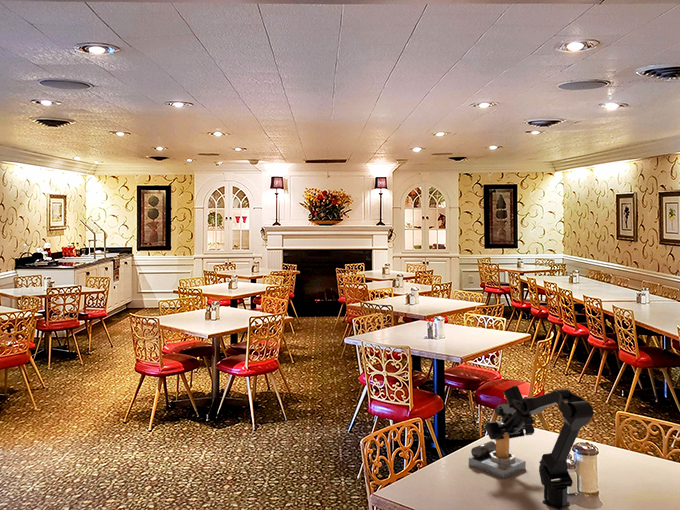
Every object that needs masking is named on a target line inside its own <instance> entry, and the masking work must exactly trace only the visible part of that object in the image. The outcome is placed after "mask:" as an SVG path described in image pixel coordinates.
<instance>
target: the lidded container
mask: <svg viewBox="0 0 680 510" xmlns="http://www.w3.org/2000/svg"><path fill="white" fill-rule="evenodd" d="M496 422H497V423H498V425H499V427H502V424H504V423H502V420H498V421H496ZM503 437H504V439H500V440H495V444H496V457H498V458H504V459H508V458H509V452H510V439H509V434H508V433H505V434H504V435H503Z"/></svg>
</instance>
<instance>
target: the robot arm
mask: <svg viewBox="0 0 680 510" xmlns="http://www.w3.org/2000/svg"><path fill="white" fill-rule="evenodd" d="M502 393H503V395H504V398H505V400H506V402H507V403H504V404H499V405H497V406H496V407H495V408H494V413H495V415H496V416H498V417H499V416H500V417H501V421H502V423H504V424H502V427H499V425H498V423H497V422H498V421H495V420H494V421H487V422H486V423H485V425H484V427H485V430H486V432H487V435H488V438H489V439H490V440H491V441H492V440H494V441H496V440H500V439H504V437H503V435H504V434H505V433H508V434H509V440H510V439H515V438H522V437H525V436H532V435H534V433H535V427H534V424H535V421H534V417H533V415H537V414H538V415H539V414H541V413H543V411H545V409H546V408H548V407H551V406H554V405H557V409H558V410H559V411H560V413H562V415H561V416H562V418H563V425H562V427H561V429H560V431H559V433H558V436H557V438H556V441H555V444H554V446H553V448H552V451H551V452H549V453H543V455H541V459H540V461H539V462H538V463H539V467H538V471H539V477H540V483H541V485H542V486H543V499H544V500H542V503H543V504H544V505H547V506H550V507H552V508H555V509H557V510H562V509H564V508H566V507H568V506H569V505H570V501H568V492H569V491H568V490H569V489H568V487H569V488H570V487H572V486H573V483H574V481H573V479H572V477H571V475H570V472H569V465H568V462H567V459H568V457H569V455H570V452H571V450H572V448H573V445H574V444H575V442H576V438H577V436H578V435H579V432H580V430H581V429H582V428H584V427H585V426H586V425H588V424H589V423H590V421H591V420H592V419H593V418H594V417H593V416H594V413H595V412H594V408H593V406H592V405H591V403H589V402H588V401H586V399H584V398H583V397H581V396H579V395H577V394H575V393H573V392H571V390H569V389H567V388H559V389H554V390H553V391H550V392H548V393H545V394H542V395H539V396H533V397H523V395H522V393H521V391H520V387H519V386H518V385H513V386H512V387H510V388H507V389H504V391H503V392H502Z"/></svg>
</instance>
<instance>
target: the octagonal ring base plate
mask: <svg viewBox="0 0 680 510" xmlns="http://www.w3.org/2000/svg"><path fill="white" fill-rule="evenodd" d="M470 451H471V456H469V457H468V466H470V467H473V468H476V469H477V470H480V471H483V472H486V473H488V474H491V475H493V476H495V477H499V478H500V479H508V478H510V477H511V476H513V475H517V474H518V473H519V472H522V471H523V470H524V471H525V470H526V467H527V466H526V465H527V461H526V460H524V459H521V458H518V457H516V456H515V454H514V453H512V452H510V451H509V458H508V459H504V458H498V457H496V442H495V441H492V440H490V441H487V442H485V443H481V444H480V445H476V446H475V447H472V448H471V450H470Z"/></svg>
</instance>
